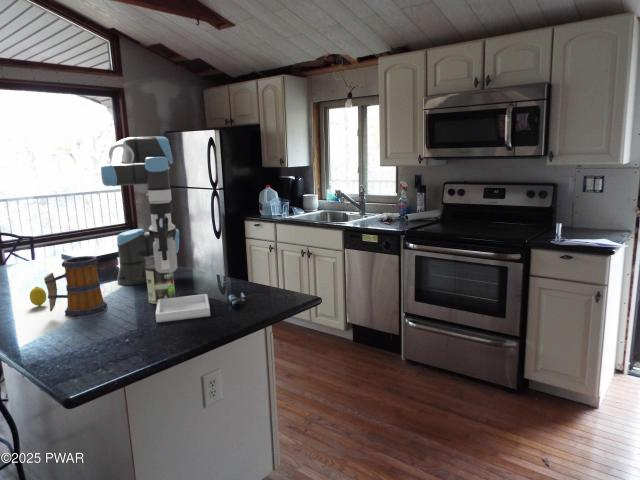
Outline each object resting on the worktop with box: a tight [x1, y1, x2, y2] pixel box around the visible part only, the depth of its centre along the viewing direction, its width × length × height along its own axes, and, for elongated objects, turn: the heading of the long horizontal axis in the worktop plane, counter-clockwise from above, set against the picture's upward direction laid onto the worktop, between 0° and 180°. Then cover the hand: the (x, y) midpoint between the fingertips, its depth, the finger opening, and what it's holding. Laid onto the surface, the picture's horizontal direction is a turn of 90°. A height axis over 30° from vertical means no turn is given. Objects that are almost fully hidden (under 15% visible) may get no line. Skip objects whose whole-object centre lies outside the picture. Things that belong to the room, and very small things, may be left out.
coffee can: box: [145, 262, 176, 305], centre depth 188 cm, size 10×10×14 cm
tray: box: [155, 293, 211, 324], centre depth 174 cm, size 18×18×3 cm
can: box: [153, 237, 178, 273], centre depth 169 cm, size 8×8×12 cm
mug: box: [44, 255, 109, 319], centre depth 175 cm, size 19×14×20 cm
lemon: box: [29, 286, 47, 307], centre depth 186 cm, size 6×6×8 cm
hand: (166, 266), depth 170 cm, fingers closed on can, 7 cm apart
